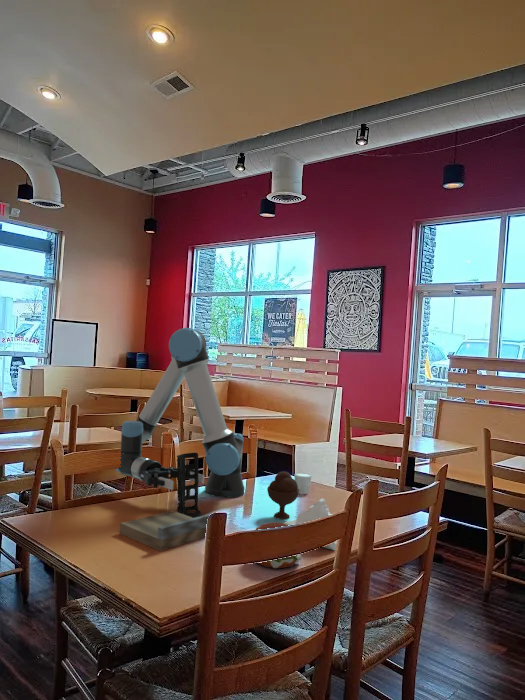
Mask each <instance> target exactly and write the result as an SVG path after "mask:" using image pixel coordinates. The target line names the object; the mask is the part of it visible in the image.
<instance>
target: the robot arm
mask: <svg viewBox="0 0 525 700" xmlns="http://www.w3.org/2000/svg"><path fill="white" fill-rule="evenodd" d="M168 349H169V352H170V354H171V355H170V357H171V361H170V363H169V365H168V367H167V368H166V370H165V371H164V373H163V375H162V377H161V379H160V380H159V381H158V384H156V387H155V389H154V390H153V392H152V393H151V395H150V397H149V398H148V400H147V402H146V403H145V405H144V407H143V408H142V410H141V412H140V413H139V415H138V417H137V419H136V420H126V421H123V423H122V426H121V438H120V440H121V441H120V452H121V456H120V457H121V459H120V461H121V464H120V465H121V467H119V468H117V469H115V468H114V470H115V471H116V472H118V473H120V474H122V475H124V476H128V477H132V478H135V479H137V480H139V481H143V482H145V483H146V485H147V486H149V487H150V486H152V485H153V486H152V487H153V488H158V486H159V487H160V488H164V489H168V490H170V491H173V490H174V484H175V482H174V480H172V479H173V478H175V479H177V467H173V466H169V467H166V466H162V465H161V464H162V463H160V462H159V461H157V460H153V459H150V458H148V457H147V458H146V457H143V456H142V452H143V443H145V442H146V441H148V440H149V439H150V438H151V437H152V435H153V433H154V432H153V431H154V430H155V428H156V426H157V424H158V423H159V421H160V419H161V418H162V416H163V414H164V413H165V411H166V410H167V408H168V406H169V404H170V403H171V401H172V400H173V398H174V397H175V394H176V392H177V391H178V390H179V388H180V386H181V384H182V383H183V381H184V379H185V380H186V384H187V387H188V389H189V392H190V396H191V399H192V402H193V405H194V408H195V410H196V414H197V417H198V420H199V423H200V427H201V430H202V432H203V435H204V437H203V439H202V446H203V448H204V453H205V463H206V466H207V467H208V469H209V470H210V473H209V476H208V478H207V480H206V481H207V482H206V483H205V475H204V474H201V473H198V484H202V485H203V484H205V485H204V493H205V494H207V495H209V496H212V497H217V498H237V497H238V498H239V497H242V496H243V495H244V494H245V486H244V482H243V476H242V461H243V446H244V436H243V434H241V433H236V432H235V433H234V432H233V430H231V429H229V428H228V426H227V423H226V420H225V417H224V414H223V410H222V408H221V405H220V402H219V399H218V396H217V392H216V389H215V387H214V383H213V381H212V378H211V374H210V372H209V368H208V363H209V361H210V357H209V356H208V351H207V341H206V337H205V336H204V334H203V333H202V332H200V331H199V330H197V329H194V328H191V327H184V328H180V329H178V330H176V331H175V332H173V333H172V334H171V336H170V338H169V341H168ZM121 449H122V450H121ZM123 453H124V454H123ZM190 474H191V475H193V474H195V469H194V468H190ZM185 475H186V469H185ZM188 480H189V481H192V482H195V479H188Z"/></svg>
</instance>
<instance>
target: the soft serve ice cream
mask: <svg viewBox="0 0 525 700" xmlns="http://www.w3.org/2000/svg"><path fill="white" fill-rule="evenodd" d="M329 509H330V508H329V506H328V505H327V504H326V500H325V498H323V497H322V498H320V499H319V500H318V501H317V502H316V503H314V504H311V506H309V507H308V510H304V511H302V512H301V513H299V514H298V515H297V517H296V519H294V520H288V521H285V522H283V524H286V525H293V524H299V523H304V522H308V521H312V520H316V519H319V518H324V517H327V516H330V515H333V514H331V512H330V511H329ZM322 548H323V549H327V550H331V551H334V552H335V551H336V548H337V541H336V542H334V543H332V544H329V545H327V546H325V547H322Z"/></svg>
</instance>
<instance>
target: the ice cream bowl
mask: <svg viewBox="0 0 525 700" xmlns="http://www.w3.org/2000/svg"><path fill="white" fill-rule="evenodd" d="M267 494H268V497H269V498H270V499H271V501H272V502H274V503H276V504H278V506H279V510H278V511H277V512H276V513H274V514H273V518H275V517H276V518H275V519H277V518H279V519H278V520H289V519H290V514H289V513H287V512H285V508H286V506H288V505H290V504H292V503H294V502H295V501H296V500H297V498H298V495H299V489H298V485H297V482H296V481H295V478H293V477H292V475H291V473H289V472H288V471H284V470H283V471H282V470H281V471H279V472H278V473H276V475H275V478H274V480H272V481H271V482H270V484H269V485H268V487H267Z"/></svg>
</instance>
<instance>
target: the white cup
mask: <svg viewBox="0 0 525 700" xmlns="http://www.w3.org/2000/svg"><path fill="white" fill-rule="evenodd" d="M293 475H294V478H293V479H294V480H295V481H296V482H297V485H298V489H299V493H298V495H307V494H309V493H310V488H311V480H312V474H309V473H303V472H297V473H296V472H295V473H294V474H293Z"/></svg>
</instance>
